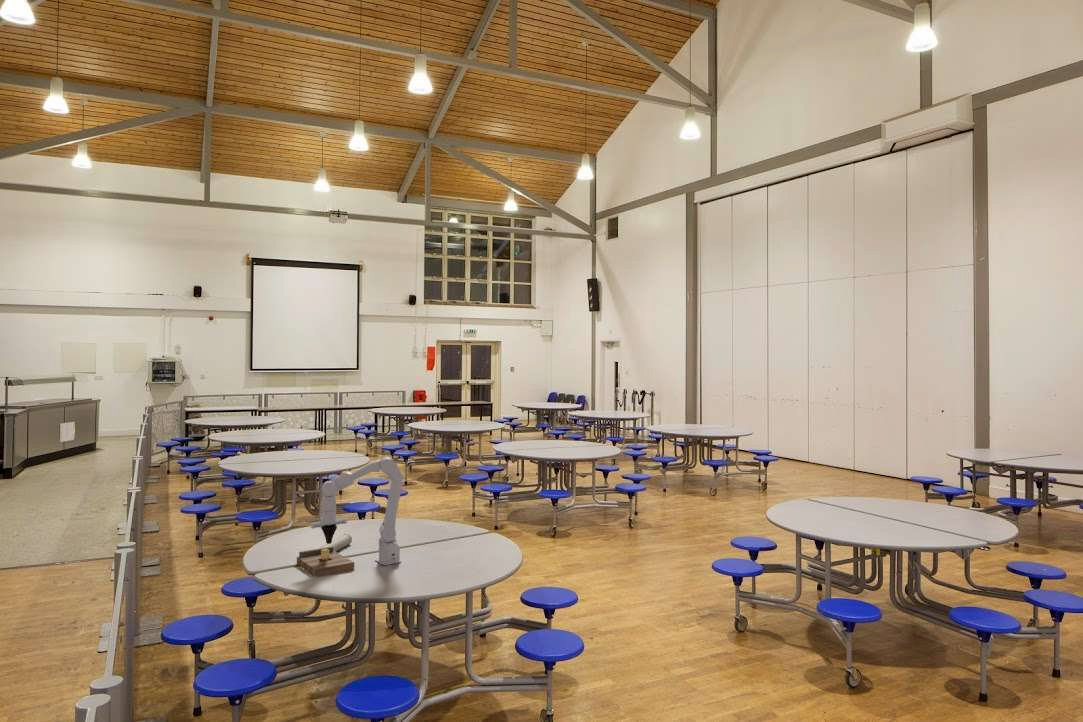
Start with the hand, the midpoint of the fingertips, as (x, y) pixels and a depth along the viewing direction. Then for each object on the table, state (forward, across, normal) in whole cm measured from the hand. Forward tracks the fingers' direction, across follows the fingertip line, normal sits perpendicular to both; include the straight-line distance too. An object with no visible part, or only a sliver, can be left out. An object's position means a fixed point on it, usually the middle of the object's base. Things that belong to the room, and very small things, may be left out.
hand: (328, 543), depth 277 cm
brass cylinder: (+9, +2, +1) cm, 9 cm away
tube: (+10, -10, -20) cm, 25 cm away
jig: (+9, +2, +1) cm, 9 cm away
